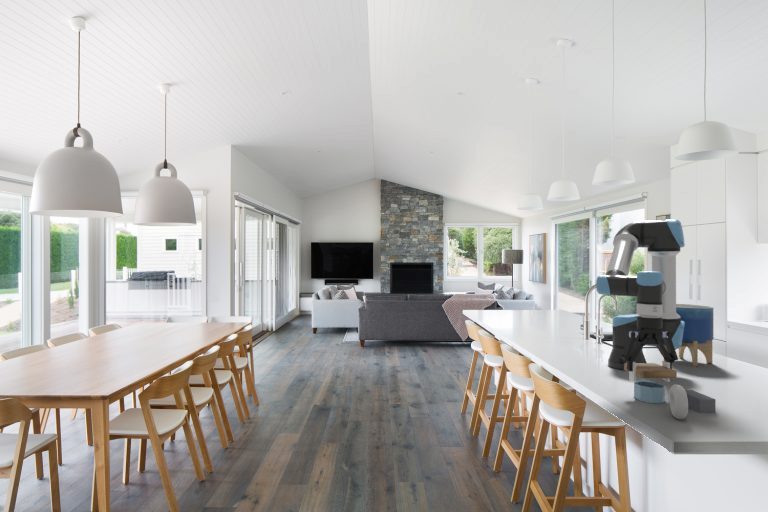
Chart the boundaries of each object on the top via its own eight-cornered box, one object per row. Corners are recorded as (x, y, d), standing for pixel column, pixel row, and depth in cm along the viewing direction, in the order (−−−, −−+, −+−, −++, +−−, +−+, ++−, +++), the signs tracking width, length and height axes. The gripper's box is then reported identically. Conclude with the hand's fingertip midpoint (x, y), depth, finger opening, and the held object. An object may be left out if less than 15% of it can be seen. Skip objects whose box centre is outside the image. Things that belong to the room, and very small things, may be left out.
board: (624, 369, 153) (624, 363, 153) (654, 369, 153) (654, 363, 153) (643, 378, 142) (643, 370, 142) (676, 378, 142) (676, 371, 142)
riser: (677, 401, 145) (677, 389, 145) (691, 401, 145) (691, 389, 145) (699, 412, 135) (699, 399, 135) (715, 412, 135) (715, 399, 135)
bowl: (629, 395, 151) (629, 380, 152) (653, 395, 152) (653, 380, 152) (645, 403, 143) (645, 387, 143) (669, 403, 143) (669, 387, 143)
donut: (667, 412, 135) (667, 379, 135) (680, 413, 133) (680, 381, 133) (675, 423, 125) (675, 388, 125) (689, 425, 124) (690, 390, 124)
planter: (721, 368, 191) (721, 308, 191) (671, 365, 197) (671, 307, 197) (703, 359, 209) (703, 304, 210) (657, 356, 215) (658, 303, 215)
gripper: (622, 317, 144) (621, 383, 143) (691, 318, 144) (691, 383, 144) (609, 314, 151) (609, 377, 151) (675, 315, 152) (675, 377, 152)
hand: (649, 380), depth 147 cm, fingers closed on board, 11 cm apart
